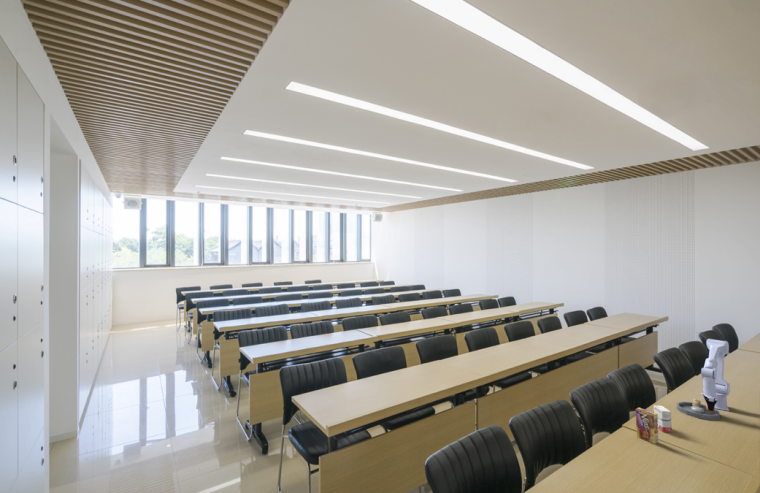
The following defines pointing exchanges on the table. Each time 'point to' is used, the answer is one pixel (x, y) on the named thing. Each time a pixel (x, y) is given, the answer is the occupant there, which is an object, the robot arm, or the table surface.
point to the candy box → (647, 425)
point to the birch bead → (696, 403)
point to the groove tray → (697, 411)
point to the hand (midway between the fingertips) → (710, 409)
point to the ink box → (663, 418)
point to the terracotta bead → (709, 410)
